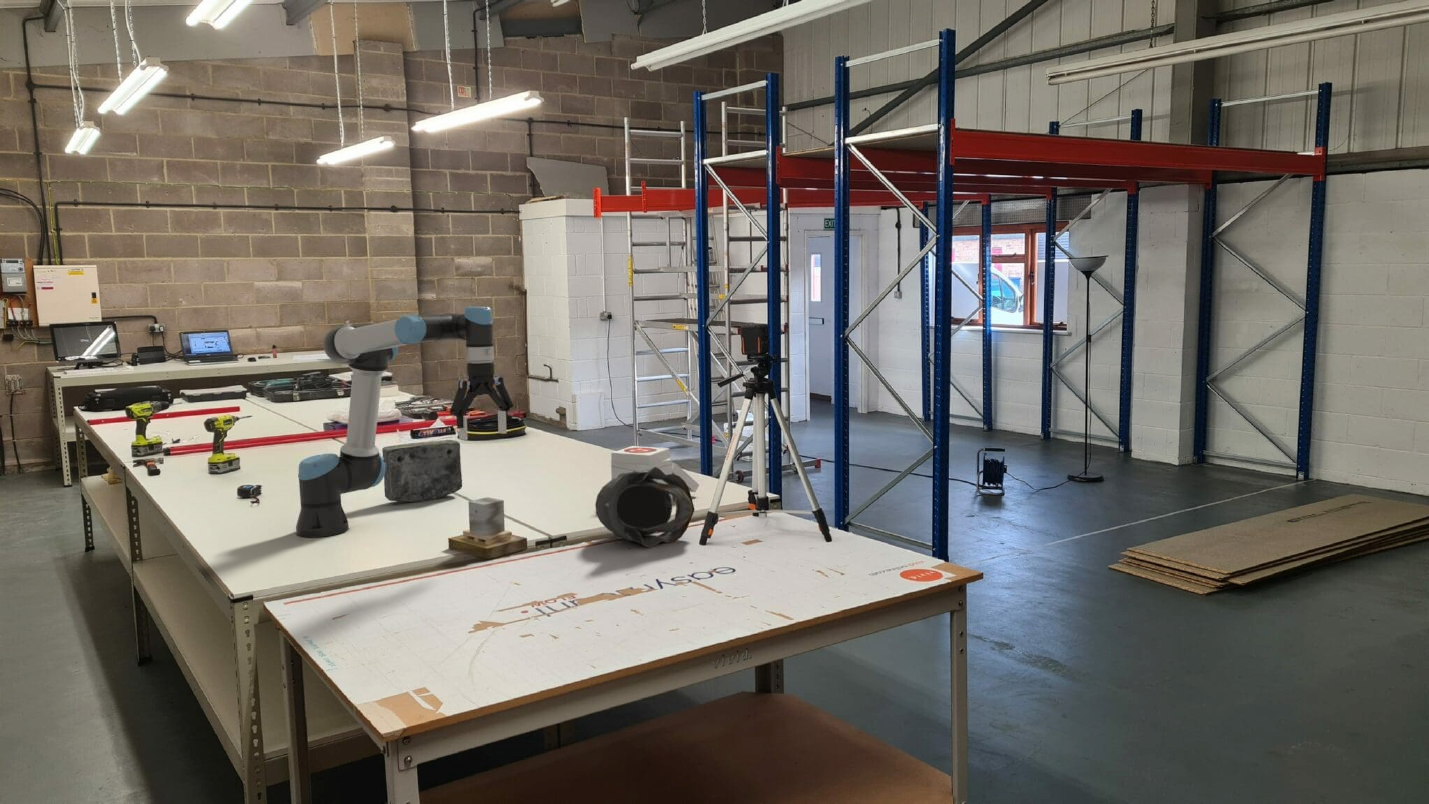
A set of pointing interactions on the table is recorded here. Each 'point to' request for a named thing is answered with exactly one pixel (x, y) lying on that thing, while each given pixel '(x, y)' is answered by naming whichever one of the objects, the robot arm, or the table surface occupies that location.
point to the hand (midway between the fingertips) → (483, 436)
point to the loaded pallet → (487, 521)
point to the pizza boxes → (648, 463)
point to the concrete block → (422, 470)
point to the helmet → (645, 507)
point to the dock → (487, 546)
